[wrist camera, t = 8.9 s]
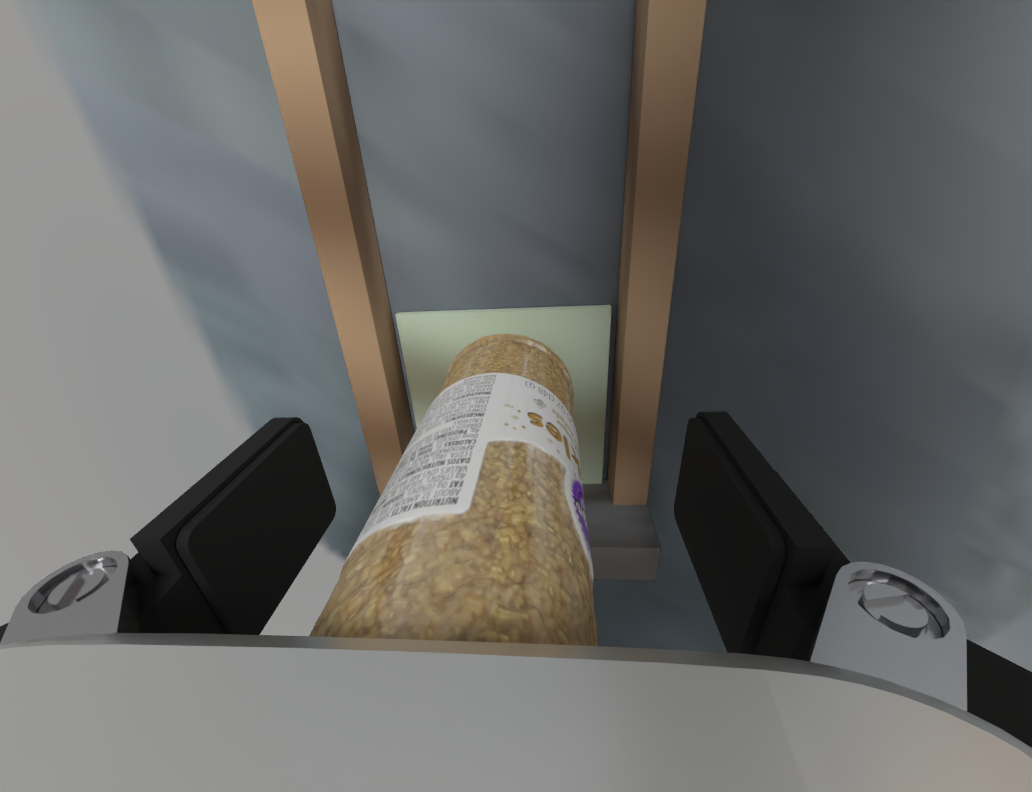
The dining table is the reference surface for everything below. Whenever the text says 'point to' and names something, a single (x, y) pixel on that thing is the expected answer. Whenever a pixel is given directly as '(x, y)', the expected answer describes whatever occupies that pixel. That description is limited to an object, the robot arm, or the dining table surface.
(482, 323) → the track
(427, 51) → the dining table surface
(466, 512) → the sprinkles bottle
